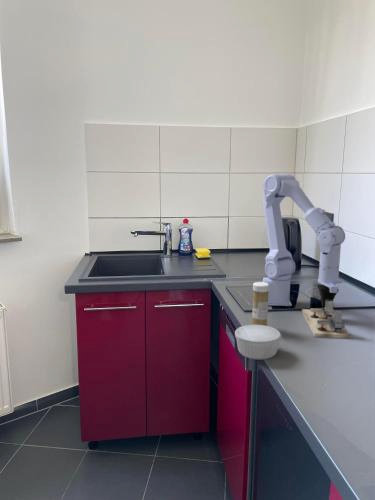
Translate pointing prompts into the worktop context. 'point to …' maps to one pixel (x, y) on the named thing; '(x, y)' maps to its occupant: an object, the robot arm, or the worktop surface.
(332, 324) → the fixed leg
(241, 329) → the ramekin
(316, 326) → the board
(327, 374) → the worktop surface
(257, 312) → the sprinkles bottle
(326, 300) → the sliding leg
